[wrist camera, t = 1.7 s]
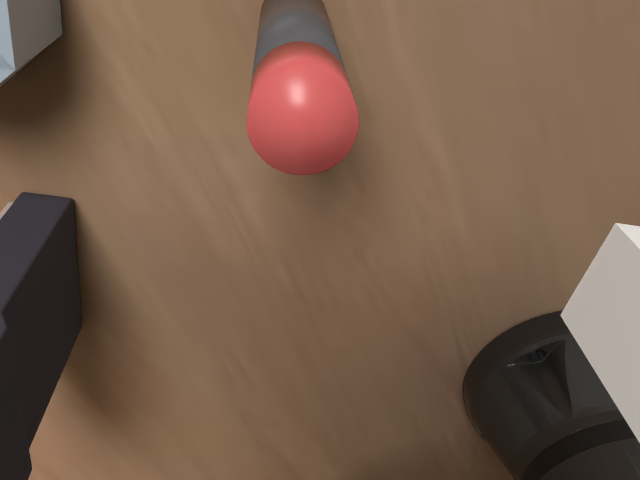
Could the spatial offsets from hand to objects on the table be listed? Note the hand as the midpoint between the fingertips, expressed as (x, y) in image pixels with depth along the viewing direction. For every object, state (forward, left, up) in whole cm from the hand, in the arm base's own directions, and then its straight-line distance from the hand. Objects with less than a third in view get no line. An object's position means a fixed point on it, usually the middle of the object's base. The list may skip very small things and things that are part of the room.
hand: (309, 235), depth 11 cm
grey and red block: (+13, +18, -20) cm, 30 cm away
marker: (0, 0, -20) cm, 20 cm away
